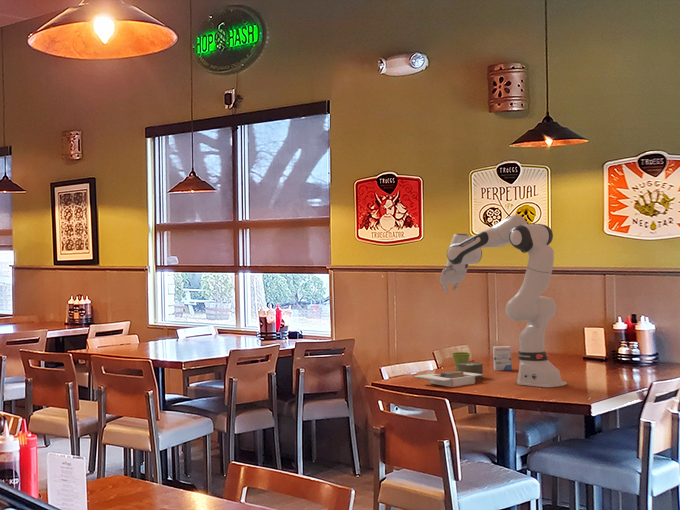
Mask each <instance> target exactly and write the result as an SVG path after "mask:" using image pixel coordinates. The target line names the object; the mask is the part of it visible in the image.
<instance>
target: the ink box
mask: <svg viewBox="0 0 680 510" xmlns="http://www.w3.org/2000/svg"><path fill="white" fill-rule="evenodd" d="M492 351H493V352H492V353H493V357H492V358H493V369H494V371H512V370H513V369H512V368H513V367H512V347H511V346H509V345H508V346H507V345H504V346H502V345H501V346H492Z"/></svg>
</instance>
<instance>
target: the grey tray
mask: <svg viewBox="0 0 680 510" xmlns="http://www.w3.org/2000/svg"><path fill="white" fill-rule="evenodd" d="M435 374H436V375H429V376H422V377H421V378H427V379H429V380H428V383H429V384H432V385H438V386H444V387H450V388H452V387H453V388H454V387H460V386H466V385H473V384H476V379H475V376H482V375H483V376H484V374H477V373H470V372H463V376H464V377H459V378H453V379H451V378H444V377H440V373H439V374H438V373H435ZM421 378H420V379H421ZM427 379H426V380H427Z"/></svg>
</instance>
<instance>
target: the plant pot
mask: <svg viewBox="0 0 680 510" xmlns="http://www.w3.org/2000/svg"><path fill="white" fill-rule="evenodd" d="M451 355H452V358H453V363H454V368H455V371H458V365H457V363H461V362H470V357H471V352H465V351H464V352H463V351H462V352H461V351H458V352H452V353H451Z"/></svg>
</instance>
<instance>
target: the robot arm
mask: <svg viewBox="0 0 680 510" xmlns="http://www.w3.org/2000/svg"><path fill="white" fill-rule="evenodd" d="M553 238H554V233H553V230H552V229H551V227H549V226H548V225H545V224H542V223H532V224H531V223H529V224H528V223H527V221H526V218H524V217H523V216H521V215H519V214H514V215H510V216H507V217H506V218H504V219H502V220H501V221H499V222H497V223H495V224H494V225H492V226H491V227H489V228H486V229H485V230H482V231H481V232H479V233H477V234H475V235H473V236H471V237H470V235H469V234H467V233H455V234H454V235H453V236H452V238H451V241H450V245H449V247H448V249H447V251H446V257H447V259H446V264H445V268H443V269H442V271H441V272H440V273H441V274H440V278H439V284H441V285H442V287H443V291H442V292H443V293H448V291H449V288H448V287H449V285H451V284H453V286H452V290H454V291H456V290H458V287H459V285H460V283H461V282H464V280H465V278H466V276H467V272H468V268H469V266H470V265H474V264H479V263H480V261H481V260H482V256H483V251H482V249H484V248H501V247H504V246H505V247H506V246H508V245H510V244H511V245H512V247H514V248H515V249H516V250H518V251H520V252H522V253H523V254H526V253H527V254H528V260H527V261H528V262H527V265H526V269H525V270H526V271H525V273H524V279H523V282H522V284H521V286H520V288H519V289H518V291H517V292H516V293H515V294H514V296H513V297H511V298H510V299H509V300H508V301H507V302H506V305H505V307H504V308H505V310H504V312H505V314H506V316H507V317H508V319H509V320H511V321H514V322H515V321H516V322H527V323H526V325H525V327H524V328H523V330H521V331H520V333H519V336H518V337H519V338H518V339H519V340H518V342H519V351H518V356H517V357H518V360H519V365H518V375H517V378H516V379H517V380H516V383H517V386H518V385H519V386H529V387H531V386H532V387H537V388H538V387H539V388H557V387H562V386H566V385H567V381H563V380H562V378H561V372H560V370H559V369H558V368H557V367H556V366H554V365H553V363H552V362H551V361H550V360H548V359H549V358H548V357H549V356H550V353H547V352H546V350H545V333H546V329H547V327H548V325H549V322H550V321H551V319H552V318H553V317H554V316H555V314H556V312H557V304H556V301H555V300H554V298H552V297H549V296H544V295H541V294H543V292H545V291H546V290H547V289H548V288H549V286H550V283H551V278H552V273H553V268H554V262H555V261H554V259H555V251H554V248H552V247H551V245H550V244H551V243H552V242H553Z"/></svg>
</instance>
